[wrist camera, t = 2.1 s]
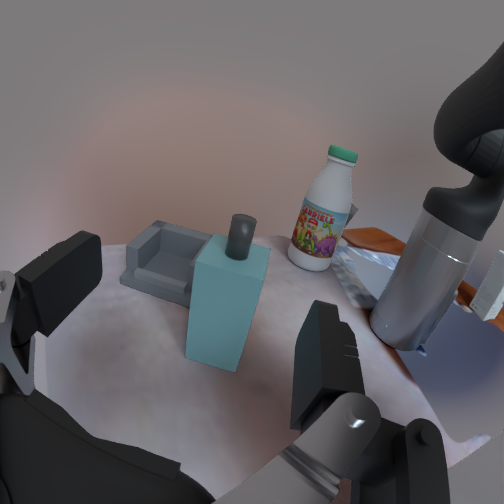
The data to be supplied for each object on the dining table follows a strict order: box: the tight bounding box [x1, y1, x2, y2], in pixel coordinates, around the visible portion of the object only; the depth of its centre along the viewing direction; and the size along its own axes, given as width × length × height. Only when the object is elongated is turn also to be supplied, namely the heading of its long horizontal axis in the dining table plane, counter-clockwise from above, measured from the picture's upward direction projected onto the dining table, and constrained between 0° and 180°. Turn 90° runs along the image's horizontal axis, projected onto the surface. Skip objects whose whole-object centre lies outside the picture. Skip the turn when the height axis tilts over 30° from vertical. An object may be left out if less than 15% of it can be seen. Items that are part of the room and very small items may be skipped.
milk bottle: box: [288, 145, 358, 272], centre depth 43 cm, size 8×8×20 cm
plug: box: [185, 214, 271, 372], centre depth 23 cm, size 5×5×14 cm
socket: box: [120, 221, 213, 307], centre depth 34 cm, size 10×10×4 cm
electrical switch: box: [344, 204, 358, 228], centre depth 59 cm, size 9×5×9 cm, turn 150°
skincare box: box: [469, 250, 504, 321], centre depth 42 cm, size 8×6×15 cm
